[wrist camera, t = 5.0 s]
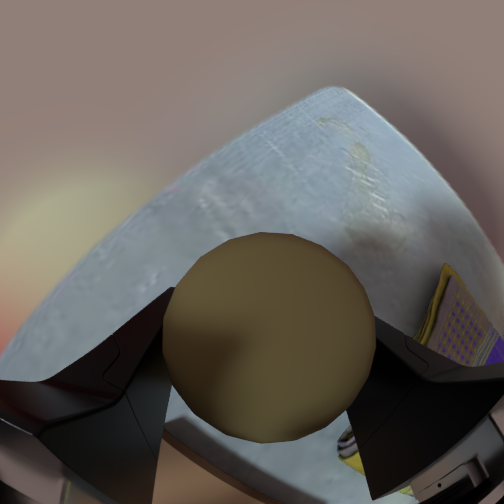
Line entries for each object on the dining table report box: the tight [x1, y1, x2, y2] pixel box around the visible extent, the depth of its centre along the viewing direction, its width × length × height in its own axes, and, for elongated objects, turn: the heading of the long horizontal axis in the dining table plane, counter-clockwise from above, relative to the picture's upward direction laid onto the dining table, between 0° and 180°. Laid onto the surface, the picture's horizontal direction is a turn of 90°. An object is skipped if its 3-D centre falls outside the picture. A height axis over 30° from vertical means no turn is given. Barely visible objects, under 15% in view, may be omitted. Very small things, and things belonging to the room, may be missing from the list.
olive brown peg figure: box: [162, 232, 376, 443], centre depth 10 cm, size 6×6×11 cm
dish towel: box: [337, 263, 504, 497], centre depth 14 cm, size 18×24×3 cm
